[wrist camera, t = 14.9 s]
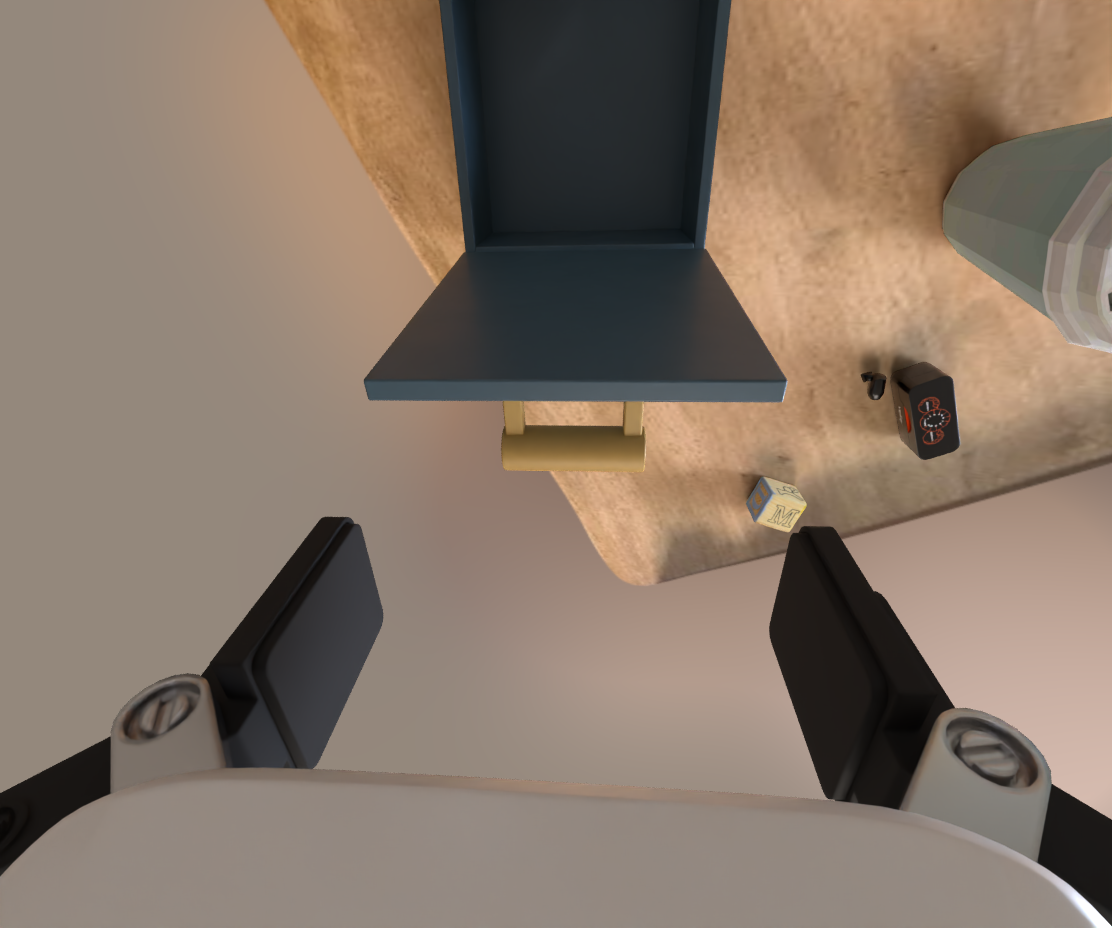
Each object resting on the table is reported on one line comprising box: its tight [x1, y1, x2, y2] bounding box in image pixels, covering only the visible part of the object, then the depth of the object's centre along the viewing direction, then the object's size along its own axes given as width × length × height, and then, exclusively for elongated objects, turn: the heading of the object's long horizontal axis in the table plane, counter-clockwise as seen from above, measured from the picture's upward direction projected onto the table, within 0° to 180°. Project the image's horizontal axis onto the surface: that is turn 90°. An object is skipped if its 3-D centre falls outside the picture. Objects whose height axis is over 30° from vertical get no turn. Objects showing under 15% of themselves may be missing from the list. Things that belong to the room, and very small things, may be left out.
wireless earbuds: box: [861, 362, 960, 460], centre depth 39 cm, size 5×7×3 cm, turn 25°
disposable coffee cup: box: [942, 117, 1112, 353], centre depth 27 cm, size 11×11×15 cm
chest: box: [439, 0, 731, 252], centre depth 30 cm, size 15×14×7 cm
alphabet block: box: [746, 476, 807, 532], centre depth 44 cm, size 3×3×3 cm
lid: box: [364, 249, 787, 472], centre depth 25 cm, size 16×14×5 cm
